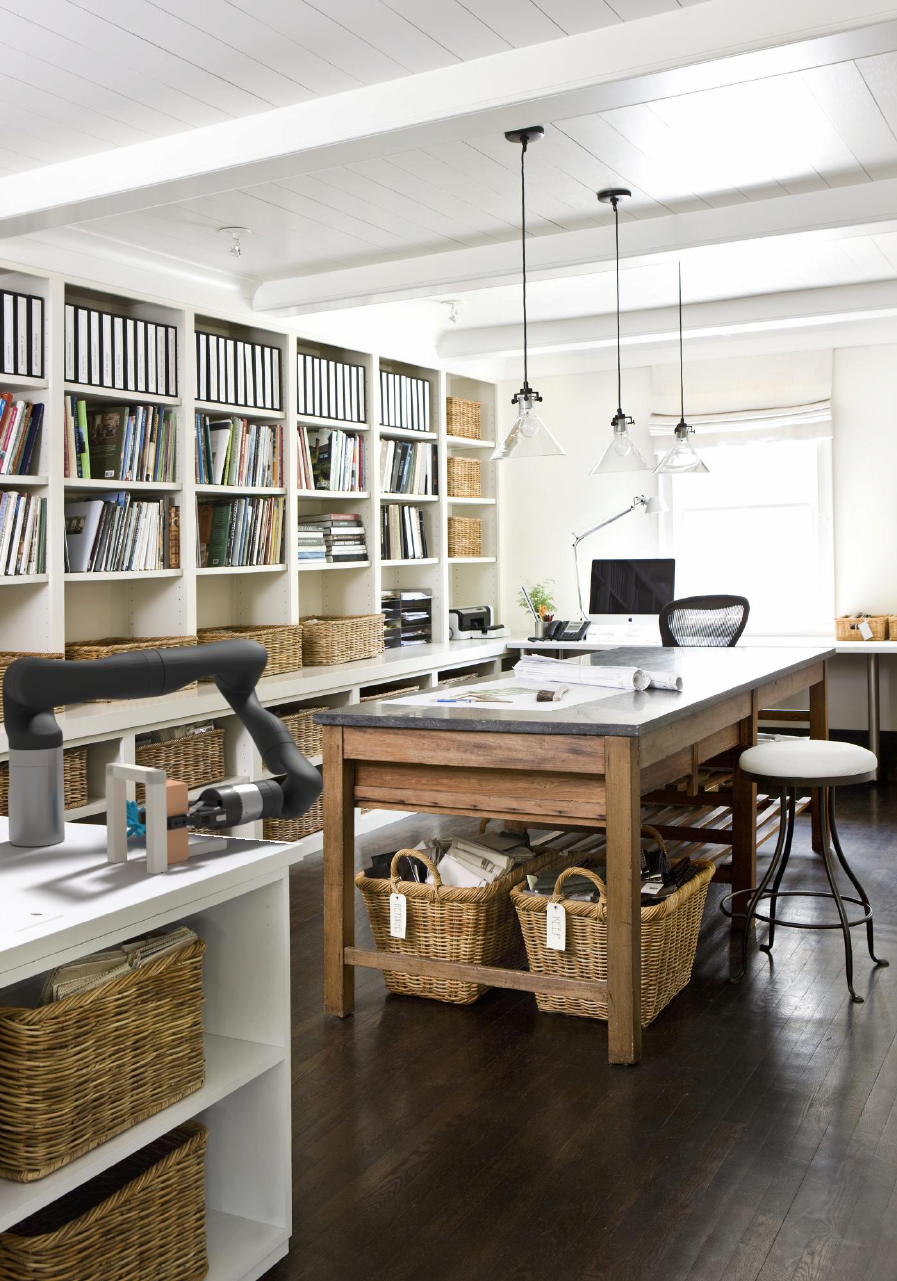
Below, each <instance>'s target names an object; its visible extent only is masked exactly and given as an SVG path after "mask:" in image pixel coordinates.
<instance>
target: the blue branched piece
mask: <svg viewBox="0 0 897 1281" xmlns="http://www.w3.org/2000/svg"><path fill="white" fill-rule="evenodd" d="M138 806H139V804H138V802H136V801H134V800H132V801H131V802H130V800H129V799H128V800H127V799H126V808H127V840H128V839H130V838H131V836H132V835H133V834H135V836H136V837H138V838H141V837H142V835H145V836H144V841H146V824H144V825H142V824H139V822H138V814H139V812H140V811H144V810H146V807H145V806H142V807H141V808H140V809H138ZM128 828H129V829H128Z"/></svg>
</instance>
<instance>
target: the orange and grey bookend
mask: <svg viewBox="0 0 897 1281" xmlns="http://www.w3.org/2000/svg"><path fill="white" fill-rule="evenodd" d="M144 785H145V789H144V790H145V794H144V795H146V784H145V783H144ZM188 785H189V783H187V782H183V781H179V780H174V779H166V805H167V817H168V816H173V815H178V814H185V813H186V812H188V800H189V796H188V795H189V791H188V790H189V786H188ZM145 837H146V840H145V842H146V843H145V846H146V847H145V848H146V849H145V850H146V857H145V858H146V861H147V836H146V835H145ZM227 842H228V839H226V838H222V837H219V838H215V839H210V840H204V841H200V842H196V843H195V842H194V843H189V828H185V827H184V828H179V829H174V830H169V831H168V830H167V865H170V864H174V863H178V862H179V861H180V862H183V861H188V859H190V857H195V856H198V855H203V854H207V853H208V852H209V853H212V852H217V851H222V850H226V849H228V847H227V846H228V843H227ZM169 863H170V864H169Z"/></svg>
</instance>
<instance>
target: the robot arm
mask: <svg viewBox="0 0 897 1281" xmlns="http://www.w3.org/2000/svg"><path fill="white" fill-rule="evenodd" d="M268 660H269V654H268V650H267V649H266V648H265V647H264V645H262V644H261V643H259V642H258V641H256V640H253V639H249V638H239V637H238V638H237V637H236V638H231V639H225V640H219V641H212V642H208V643H204V644H202V643H201V644H198V645H197V644H196V645H186V646H176V647H169V648H168V647H167V648H166V647H165V648H150V649H149V648H148V649H147V648H146V649H135V650H134V649H133V650H127V651H122V652H118V653H115V654H114V653H113V654H111V655H107V656H104V657H100V658H96V659H91V660H90V659H89V660H68V659H67V660H62V659H51V658H45V657H38V656H21V657H19V658H17V659H14V660H13V661H12V662H11V663H10V664H9V665H8V667H7V668H6V669H5V671H4V673H3V676H2V682H1V684H2V686H1V696H2V697H1V698H2V699H1V700H2V712H3V713H2V715H3V726H4V730H5V733H6V737H7V740H8V741H7V743H8V772H9V777H8V778H9V783H8V784H9V788H8V789H7V800H8V805H7V806H8V840H9V841H10V844H11V845H14V846H17V847H42V846H48V845H55V844H58V843H61V842H63V841H64V840H65V838H66V833H65V832H66V831H65V825H66V824H65V782H64V781H65V780H64V779H65V775H64V773H65V772H64V769H65V768H64V767H65V766H64V733H63V730H62V729H61V727H60V725H59V723H58V722H57V719H56V716H55V708H60V707H64V706H69V705H74V704H77V703H83V702H89V701H96V700H98V701H99V700H110V701H112V700H113V701H114V700H115V701H116V700H117V701H119V700H138V699H139V700H140V699H147V698H157V697H158V698H159V697H163V696H168V695H171V694H172V693H175V692H177V691H179V690H181V689H183V688H186V687H187V686H189V685H191V684H193V683H195V682H196V681H198V680H201V679H203V678H206V677H208V676H212V678H213V682H214V684H215V686H216V687H217V690H218V691H219V693H220V694H221V695H222V697H223V698H224V699H225V701H226V702H227V704H228V705H229V706H230V707H231V709H232V711H233V712H234V713H235V715H236V716H237V717H238V719H239V720H240V721H241V723H242V724H243V726H244V728H246V730H247V732H248V734H249V736H250V737H251V738H252V741H253V743H254V744H255V747H256V749H257V751H258V753H259V755H260V757H261V759H262V761H263V763H264V765H265V768H266V769H267V771H268V773H270V774H272V775H274V776H282V775H285V774H286V775H287V776H286V777H285V779H284V781H282V782H281V784H279V783H277V782H276V781H275V780H271V779H261V780H256V781H255V780H254V781H250V782H236V783H231V784H230V783H229V784H226V785H225V784H224V785H218V786H213V787H208V788H205V789H204V790H203V791H202V792H201V793H200V795H198V798H197V799H188V812H186V813H185V814H178V815H173V816H168V817H167V830H168V831H169V830H174V829H179V828H184V827H185V828H188V829H190V828H194V829H196V830H200V829H207V830H209V831H211V832H212V831H213V832H215V831H220V830H224V829H229V828H234V827H239V826H243V825H247V824H249V823H252V822H256V821H259V820H264V819H268V818H270V819H275V820H277V819H278V820H279V819H280V820H289V821H290V820H291V821H292V820H296V819H299V818H300V817H303V816H304V815H305V814H306V813H307V812H308V811H309V810H310V808H311V807H312V806H313V805H314V803H315V802H316V801H317V800H318V799H319V797H320V796H321V794H322V792H323V791H324V780H323V777H322V774H321V773H320V772H319V770H318V769H317V768H316V767H315V766H314V765H313V763H311V762H310V760H309V759H308V758H307V757H305V755H304V754H303V752H301V751H300V750H299V747H298V746H297V744H296V741H295V740H294V737H293V736H292V734H291V732H290V730H289V728H288V726H287V725H286V724H285V723H284V721H282V719H281V718H279V717H278V716H276V715H275V714H273V713H272V712H269V711H268V710H267V709H265V708H264V707H263V706H262V703H260V701H259V697H258V694H257V692H256V691H257V690H256V686H257V685H258V683H259V681H260V679H261V677H262V675H263V674H264V672H265V670H266V668H267V666H268V662H269V661H268ZM138 822H139V824H142V825H144V824H146V810H144V811H140V812H139V814H138Z"/></svg>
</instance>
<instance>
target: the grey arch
mask: <svg viewBox="0 0 897 1281" xmlns="http://www.w3.org/2000/svg"><path fill="white" fill-rule="evenodd" d="M166 780H167V770H165V769H159V768H153V767H149V766H143V765H137V764H132V763H125V762H122V761H121V762H120V761H116V762H109V763H106V764H105V781H106V782H105V785H106V786H105V787H106V789H105V790H106V796H105V797H106V838H107V839H106V842H107V843H106V844H107V845H106V846H107V848H106V849H107V855H106V856H107V862H108V861H109V862H108V863H112V864H118V863H122V861H123V862H126V861H128V839H127V831H128V827H127V808H126V800H127V781H130V782H131V781H132V782H136V783H141V784H144V785H145V784H146V794H145V809H146V835H145V837H146V836H147V860H146V873H147V872H148V873H147V874H151V875H159V874H162V873H161V872H163V873H167V872H168V864H167V805H166Z"/></svg>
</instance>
